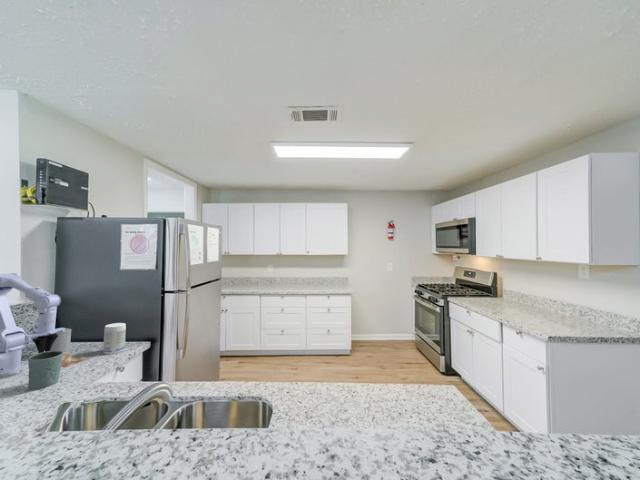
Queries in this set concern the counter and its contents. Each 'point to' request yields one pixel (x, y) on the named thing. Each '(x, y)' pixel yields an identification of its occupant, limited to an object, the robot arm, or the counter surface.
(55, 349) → the grey marbled cylinder
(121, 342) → the supplement tub
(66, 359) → the birch block
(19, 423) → the counter surface
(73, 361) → the board
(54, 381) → the green plant pot
